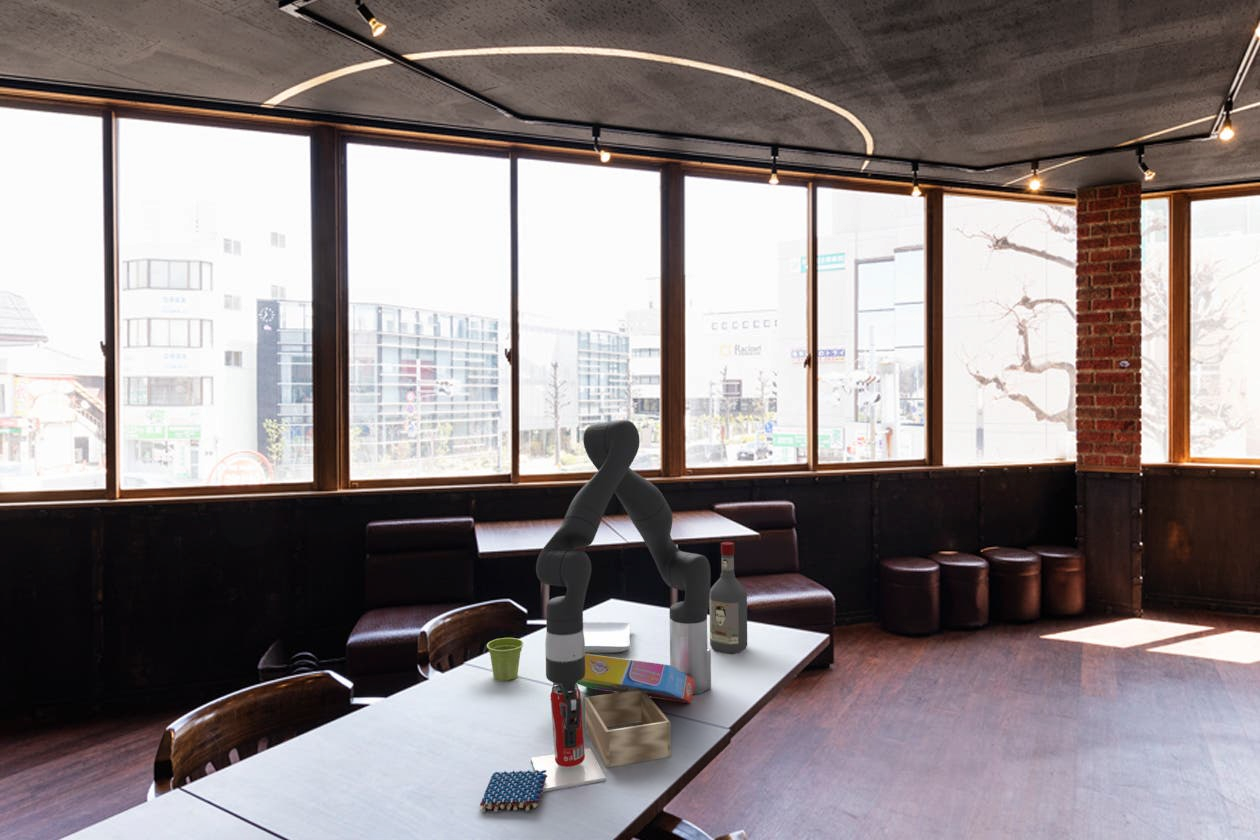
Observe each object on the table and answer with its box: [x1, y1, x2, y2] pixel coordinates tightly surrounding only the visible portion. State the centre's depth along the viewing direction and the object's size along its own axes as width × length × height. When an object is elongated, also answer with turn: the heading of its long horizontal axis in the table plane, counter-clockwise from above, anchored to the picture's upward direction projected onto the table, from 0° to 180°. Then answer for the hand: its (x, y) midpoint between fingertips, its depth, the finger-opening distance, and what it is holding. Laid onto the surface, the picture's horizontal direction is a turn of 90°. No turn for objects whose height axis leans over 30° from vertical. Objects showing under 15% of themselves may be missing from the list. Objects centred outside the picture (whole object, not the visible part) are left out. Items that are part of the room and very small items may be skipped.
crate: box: [584, 689, 671, 769], centre depth 149 cm, size 13×17×7 cm
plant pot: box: [486, 637, 524, 682], centre depth 185 cm, size 9×9×9 cm
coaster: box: [530, 748, 607, 793], centre depth 138 cm, size 12×12×1 cm
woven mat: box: [479, 769, 547, 814], centre depth 129 cm, size 10×11×2 cm
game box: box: [576, 653, 694, 704], centre depth 165 cm, size 21×6×27 cm
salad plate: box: [583, 621, 632, 654], centre depth 210 cm, size 21×21×3 cm
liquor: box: [709, 541, 748, 655], centre depth 204 cm, size 9×9×30 cm
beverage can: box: [550, 683, 585, 768], centre depth 138 cm, size 6×6×15 cm
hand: (566, 739), depth 138 cm, fingers closed on beverage can, 5 cm apart
